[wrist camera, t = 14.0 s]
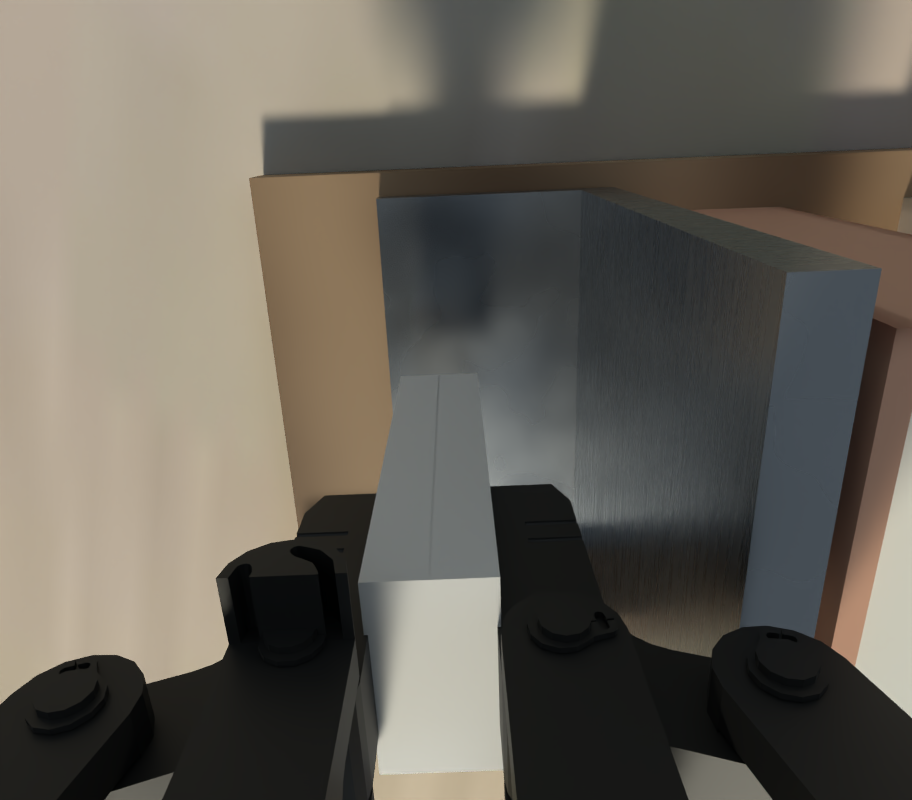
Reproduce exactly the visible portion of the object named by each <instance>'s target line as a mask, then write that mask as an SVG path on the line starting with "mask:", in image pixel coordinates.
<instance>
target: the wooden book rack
mask: <svg viewBox="0 0 912 800" xmlns="http://www.w3.org/2000/svg"><path fill="white" fill-rule="evenodd" d="M249 180H250V187H251V194H252V201H253V208H254V215H255V223H256V230H257V237H258V244H259V251H260V258H261V265H262V272H263V279H264V286H265V294H266V301H267V308H268V315H269V322H270V329H271V336H272V343H273V350H274V357H275V365H276V372H277V379H278V386H279V393H280V400H281V407H282V414H283V421H284V428H285V436H286V443H287V450H288V457H289V464H290V471H291V478H292V485H293V492H294V500H295V507H296V514H297V521H298V528H299V527H300V524H301V522H302V519H303V516H304V514H305V513H306V512H307V511H308V510H309V509H310V508H311V507H312V506H313V505H315V504H316V503H317V502H318V501H319V500H320V499H321V498H322V497H324V496H325V495H348V494H373V493H377V489H378V484H379V479H380V474H381V469H382V465H383V460H384V455H385V450H386V445H387V440H388V436H389V431H390V426H391V421H392V416H393V409H392V397H391V384H390V371H389V358H388V346H387V333H386V320H385V307H384V295H383V282H382V269H381V256H380V243H379V231H378V218H377V205H376V198H377V197H386V196H410V195H434V194H458V193H481V192H505V191H529V190H553V189H577V188H600V187H616V188H619V189H622V190H625V191H629V192H632V193H635V194H639V195H642V196H645V197H648V198H652V199H655V200H658V201H662V202H665V203H668V204H671V205H675V206H678V207H681V208H685V209H688V210H702V209H731V208H760V207H784V208H788V209H793V210H798V211H803V212H807V213H812V214H817V215H821V216H826V217H831V218H836V219H840V220H845V221H850V222H854V223H859V224H864V225H869V226H873V227H878V228H883V229H888V230H892V231H897V230H898V225H899V219H900V214H901V209H902V203H903V198H907V197H912V148H898V149H875V150H851V151H827V152H803V153H780V154H756V155H732V156H709V157H685V158H661V159H637V160H614V161H590V162H566V163H542V164H519V165H495V166H471V167H447V168H424V169H400V170H376V171H353V172H329V173H305V174H281V175H262V176H257V177H252V178H249Z"/></svg>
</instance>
